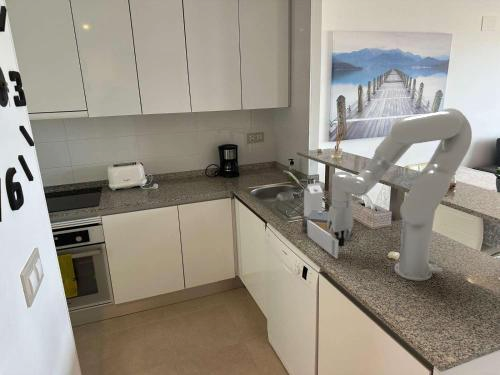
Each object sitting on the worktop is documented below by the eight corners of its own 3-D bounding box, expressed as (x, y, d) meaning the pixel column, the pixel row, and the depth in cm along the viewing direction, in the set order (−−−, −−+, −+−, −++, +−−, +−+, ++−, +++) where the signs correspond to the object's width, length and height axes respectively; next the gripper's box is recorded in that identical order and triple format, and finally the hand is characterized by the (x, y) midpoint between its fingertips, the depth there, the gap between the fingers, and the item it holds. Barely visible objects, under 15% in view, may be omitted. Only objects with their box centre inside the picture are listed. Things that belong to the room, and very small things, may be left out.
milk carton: (303, 216, 187) (304, 182, 182) (315, 214, 189) (315, 181, 184) (310, 220, 181) (311, 186, 175) (322, 218, 183) (323, 184, 178)
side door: (338, 258, 139) (338, 239, 137) (334, 258, 139) (335, 240, 137) (308, 235, 162) (308, 219, 160) (305, 235, 161) (305, 220, 159)
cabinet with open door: (351, 231, 166) (352, 211, 163) (348, 241, 155) (349, 220, 152) (306, 226, 174) (306, 207, 171) (300, 235, 163) (300, 215, 160)
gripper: (349, 197, 143) (348, 238, 148) (320, 203, 137) (319, 245, 142) (362, 202, 136) (360, 244, 141) (332, 209, 130) (331, 253, 135)
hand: (339, 245), depth 141 cm, fingers closed
